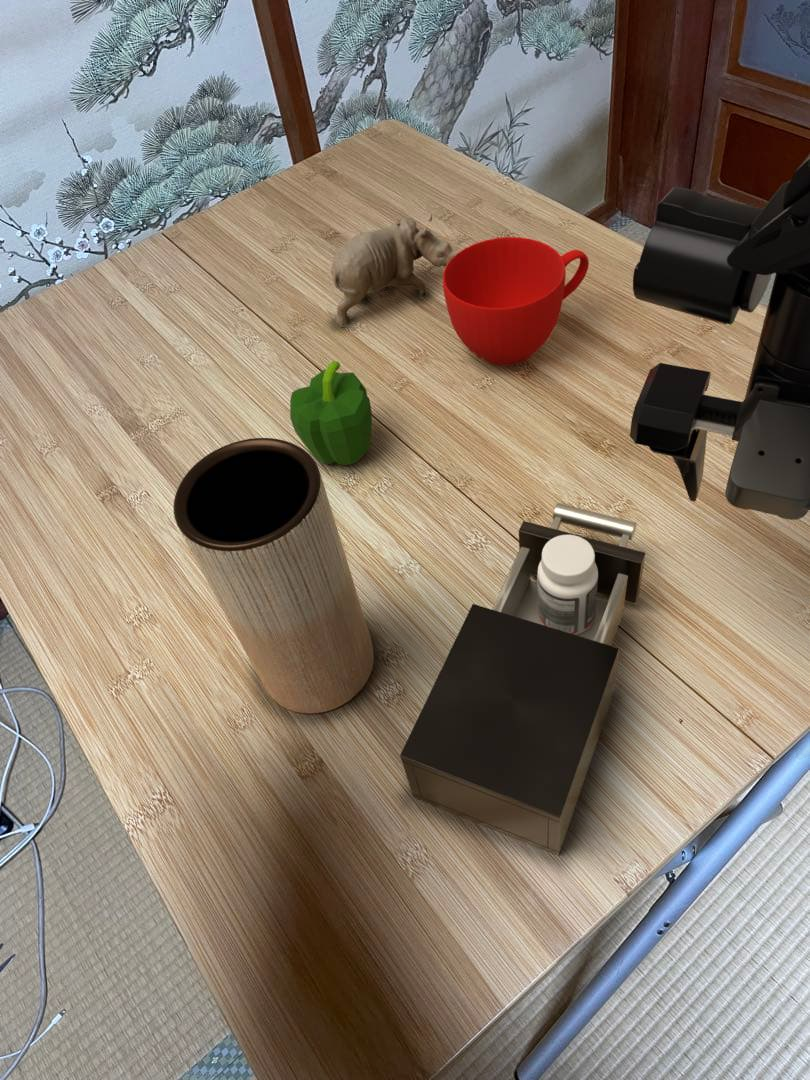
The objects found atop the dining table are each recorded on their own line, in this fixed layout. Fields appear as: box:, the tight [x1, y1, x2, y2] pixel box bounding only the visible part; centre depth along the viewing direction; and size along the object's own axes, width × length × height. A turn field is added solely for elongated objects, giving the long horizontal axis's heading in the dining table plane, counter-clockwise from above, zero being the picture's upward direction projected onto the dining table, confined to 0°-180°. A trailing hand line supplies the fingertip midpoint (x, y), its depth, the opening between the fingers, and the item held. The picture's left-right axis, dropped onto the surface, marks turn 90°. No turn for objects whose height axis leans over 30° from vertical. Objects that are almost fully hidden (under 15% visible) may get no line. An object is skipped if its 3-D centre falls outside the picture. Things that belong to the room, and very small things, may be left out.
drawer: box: [492, 502, 646, 646], centre depth 69 cm, size 17×10×6 cm, turn 155°
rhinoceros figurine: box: [330, 214, 461, 328], centre depth 101 cm, size 8×14×15 cm
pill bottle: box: [536, 535, 598, 635], centre depth 67 cm, size 5×5×8 cm
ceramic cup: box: [442, 236, 590, 367], centre depth 92 cm, size 13×17×10 cm
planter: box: [172, 437, 375, 714], centre depth 64 cm, size 10×10×23 cm
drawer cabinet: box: [399, 603, 620, 856], centre depth 63 cm, size 14×12×8 cm
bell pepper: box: [289, 360, 373, 466], centre depth 85 cm, size 8×8×10 cm
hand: (759, 512), depth 60 cm, fingers open, 9 cm apart
